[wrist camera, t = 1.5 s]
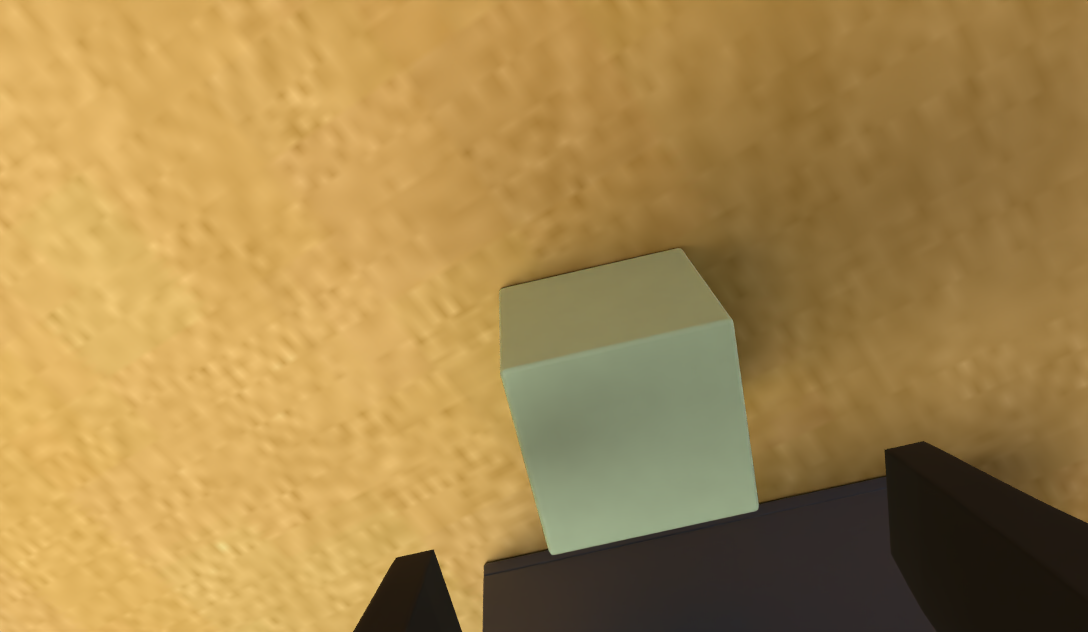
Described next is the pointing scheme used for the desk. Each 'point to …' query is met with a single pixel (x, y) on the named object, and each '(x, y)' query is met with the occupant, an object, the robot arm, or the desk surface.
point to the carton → (722, 575)
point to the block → (626, 400)
